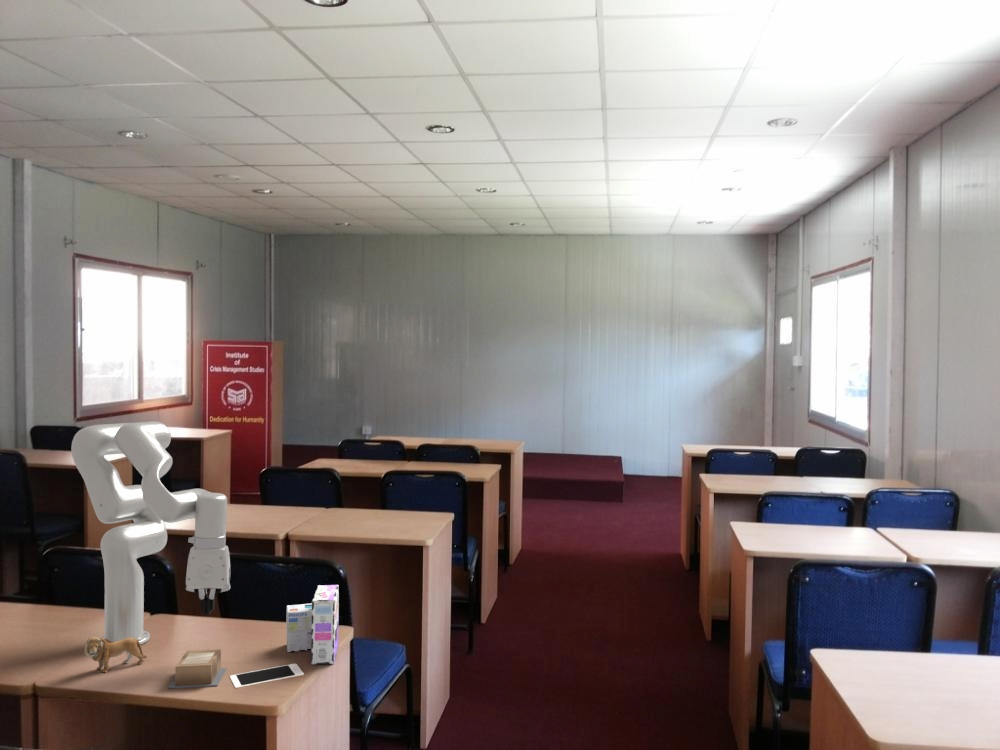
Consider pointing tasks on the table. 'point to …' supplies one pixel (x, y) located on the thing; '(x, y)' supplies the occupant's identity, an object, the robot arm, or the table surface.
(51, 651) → the table surface
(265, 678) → the cell phone
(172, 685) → the mat
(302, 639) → the light bulb box
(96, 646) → the lion figurine
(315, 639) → the candy box
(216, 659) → the tan wooden block
